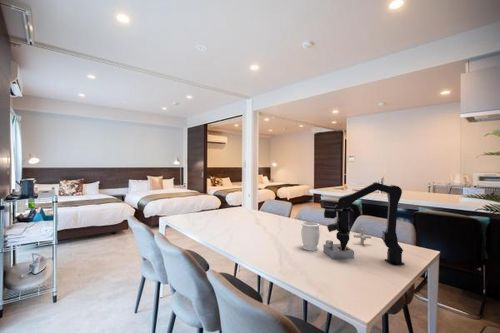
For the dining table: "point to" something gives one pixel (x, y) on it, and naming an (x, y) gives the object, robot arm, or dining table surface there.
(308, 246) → the jar
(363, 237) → the pipe connector
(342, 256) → the grey slotted base
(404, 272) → the dining table surface
